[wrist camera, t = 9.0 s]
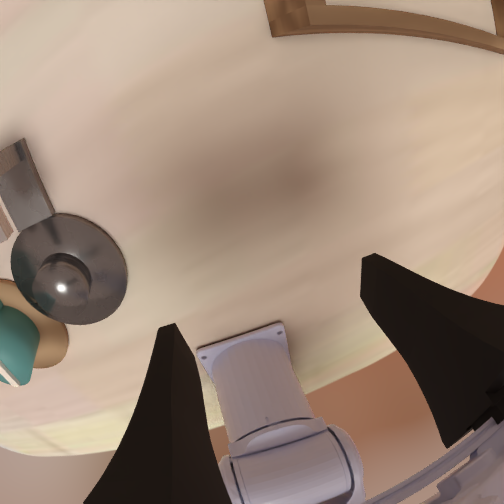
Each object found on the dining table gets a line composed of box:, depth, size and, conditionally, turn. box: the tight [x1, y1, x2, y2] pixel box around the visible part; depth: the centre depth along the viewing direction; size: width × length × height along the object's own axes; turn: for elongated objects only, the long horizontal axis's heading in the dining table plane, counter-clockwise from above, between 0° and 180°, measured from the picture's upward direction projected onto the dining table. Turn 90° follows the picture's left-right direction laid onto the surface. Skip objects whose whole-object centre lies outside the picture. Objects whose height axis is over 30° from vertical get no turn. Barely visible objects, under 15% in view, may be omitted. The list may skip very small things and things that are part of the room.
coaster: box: [0, 279, 68, 368], centre depth 19 cm, size 10×10×1 cm
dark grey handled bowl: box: [0, 138, 127, 325], centre depth 14 cm, size 14×9×6 cm, turn 11°
